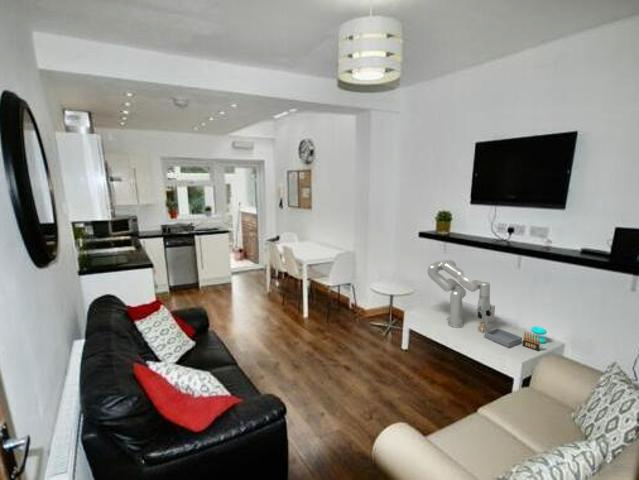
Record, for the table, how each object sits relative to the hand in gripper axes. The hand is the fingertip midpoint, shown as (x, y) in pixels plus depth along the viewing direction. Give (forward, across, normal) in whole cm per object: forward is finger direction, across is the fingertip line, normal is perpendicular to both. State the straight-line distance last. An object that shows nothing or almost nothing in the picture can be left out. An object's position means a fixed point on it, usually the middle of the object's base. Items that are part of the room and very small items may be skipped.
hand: (483, 317), depth 272 cm
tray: (+13, 0, +17) cm, 22 cm away
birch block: (+13, 0, -1) cm, 13 cm away
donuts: (+14, -22, +31) cm, 40 cm away
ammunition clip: (+14, -6, +35) cm, 38 cm away
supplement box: (+13, -22, -13) cm, 28 cm away
